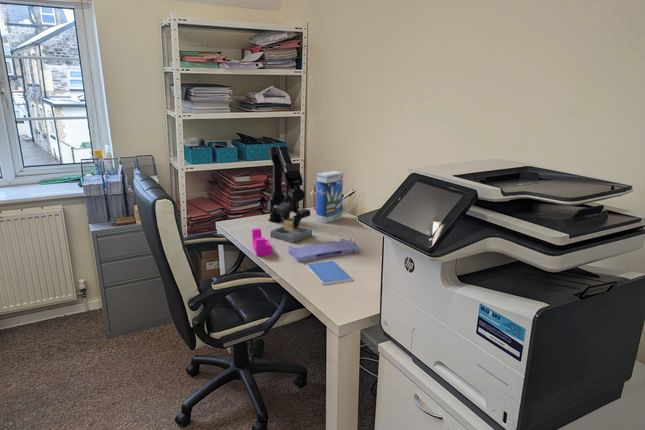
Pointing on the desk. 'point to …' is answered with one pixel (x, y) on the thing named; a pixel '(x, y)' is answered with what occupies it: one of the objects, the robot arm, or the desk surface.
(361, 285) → the desk surface
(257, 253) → the toy block
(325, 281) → the blue book
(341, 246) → the lavender slotted plate
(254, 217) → the desk surface
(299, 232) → the tray
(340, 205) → the string lights box
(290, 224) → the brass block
